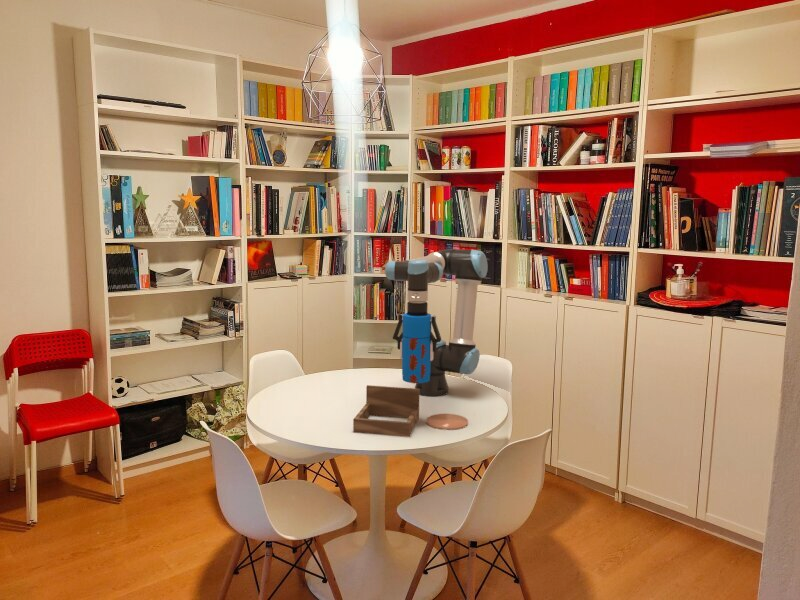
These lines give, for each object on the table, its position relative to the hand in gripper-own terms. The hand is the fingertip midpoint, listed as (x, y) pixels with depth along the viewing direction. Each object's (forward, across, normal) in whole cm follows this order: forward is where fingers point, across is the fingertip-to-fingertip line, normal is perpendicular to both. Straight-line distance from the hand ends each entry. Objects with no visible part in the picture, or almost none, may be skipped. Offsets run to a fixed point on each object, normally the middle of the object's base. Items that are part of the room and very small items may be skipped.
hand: (416, 358), depth 243 cm
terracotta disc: (+26, +12, +4) cm, 28 cm away
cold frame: (+25, -10, -4) cm, 28 cm away
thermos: (+8, 0, 0) cm, 8 cm away
